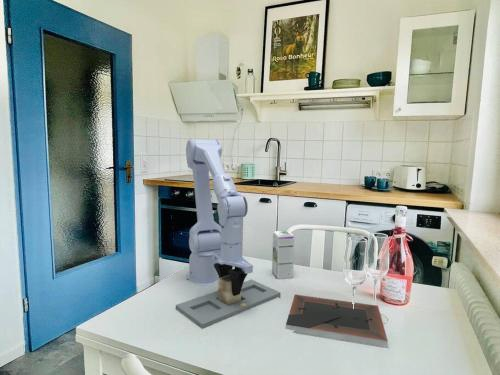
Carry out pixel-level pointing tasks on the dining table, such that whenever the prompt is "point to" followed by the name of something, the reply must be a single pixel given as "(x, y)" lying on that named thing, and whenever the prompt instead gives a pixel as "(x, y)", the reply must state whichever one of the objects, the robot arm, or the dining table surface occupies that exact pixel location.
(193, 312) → the paneled door
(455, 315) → the dining table surface
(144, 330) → the dining table surface
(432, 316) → the dining table surface
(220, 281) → the frame block
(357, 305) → the picture frame
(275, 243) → the syrup box
